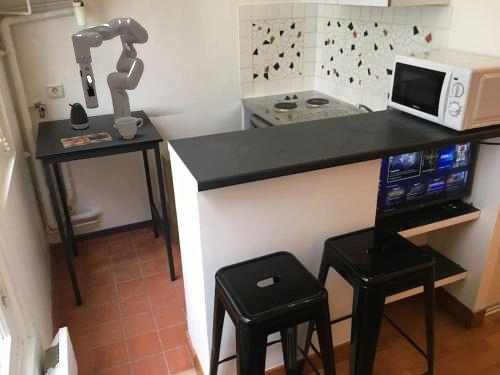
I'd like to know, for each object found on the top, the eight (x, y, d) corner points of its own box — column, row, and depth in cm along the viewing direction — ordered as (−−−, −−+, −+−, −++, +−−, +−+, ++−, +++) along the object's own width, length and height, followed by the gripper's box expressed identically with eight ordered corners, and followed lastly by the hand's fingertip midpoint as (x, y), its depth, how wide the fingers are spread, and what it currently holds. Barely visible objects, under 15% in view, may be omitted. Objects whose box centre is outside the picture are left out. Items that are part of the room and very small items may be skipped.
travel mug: (86, 109, 219) (78, 70, 210) (86, 106, 225) (79, 68, 216) (98, 108, 220) (91, 69, 212) (99, 105, 226) (92, 67, 217)
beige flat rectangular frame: (107, 134, 237) (106, 132, 237) (112, 139, 228) (111, 137, 227) (61, 141, 227) (60, 139, 226) (64, 148, 217) (63, 145, 216)
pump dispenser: (78, 125, 255) (74, 100, 249) (93, 126, 252) (89, 101, 246) (67, 130, 246) (62, 104, 240) (83, 131, 243) (78, 105, 237)
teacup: (147, 137, 230) (145, 119, 226) (120, 142, 223) (117, 124, 219) (141, 132, 240) (139, 114, 235) (115, 136, 233) (112, 119, 229)
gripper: (94, 61, 207) (101, 97, 215) (88, 56, 221) (94, 91, 228) (78, 62, 204) (86, 99, 211) (73, 58, 217) (80, 92, 225)
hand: (90, 94), depth 220 cm, fingers closed on travel mug, 6 cm apart
